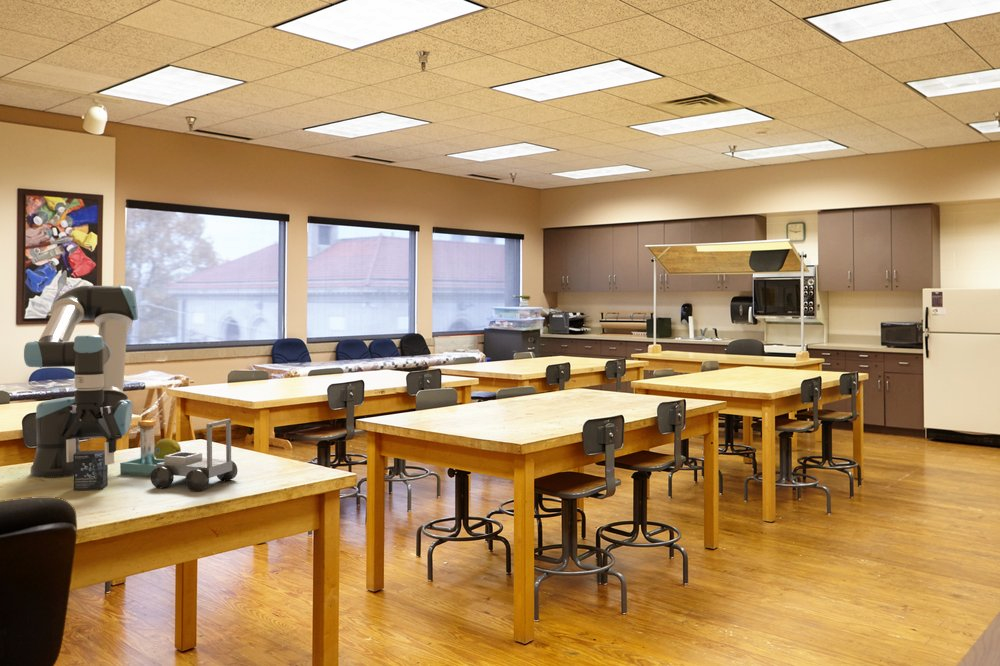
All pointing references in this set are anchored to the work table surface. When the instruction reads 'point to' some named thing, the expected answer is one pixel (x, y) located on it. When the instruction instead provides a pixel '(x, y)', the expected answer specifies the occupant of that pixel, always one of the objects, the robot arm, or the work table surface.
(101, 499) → the work table surface
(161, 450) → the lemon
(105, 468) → the box
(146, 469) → the tray
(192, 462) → the trolley
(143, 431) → the clear tube with cap
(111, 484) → the work table surface
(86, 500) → the work table surface
